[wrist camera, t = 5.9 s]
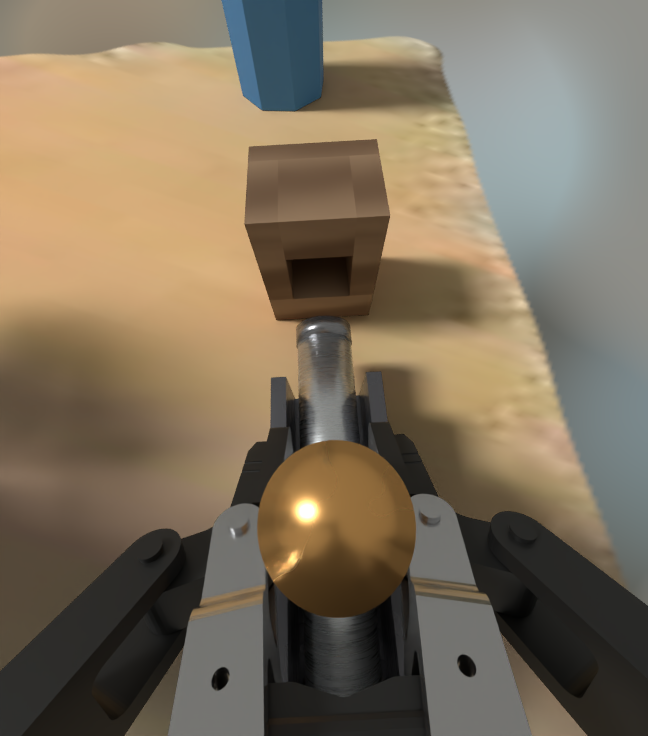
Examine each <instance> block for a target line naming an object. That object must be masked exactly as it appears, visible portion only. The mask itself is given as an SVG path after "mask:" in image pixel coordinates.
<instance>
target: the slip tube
mask: <svg viewBox="0 0 648 736" xmlns="http://www.w3.org/2000/svg"><path fill="white" fill-rule="evenodd" d="M296 337H297V349H298V387H299V432H300V450H298V451H296V452H295V453H293V454H292V455H291V456H289V457H288V458H287V459H286V460H285V461H284V462H283V463H282V464H281V465H280V466H279V467H278V469H277V470H276V471H275V472H274V474H273V475H272V477H271V479H270V480H269V482H268V484H267V486H266V488H265V490H264V493H263V496H262V499H261V502H260V506H259V511H258V520H257V536H258V543H259V549H260V553H261V556H262V560H263V562H264V565H265V567H266V569H267V572H268V573H269V575H270V577H271V579H272V580H273V582H274V583H275V584H276V586H277V587H278V588H279V590H280V591H281V592H282V593H283V594H284V595H285V596H286V597H287V598H288V599H289V600H291V601H292V602H293V603H295V604H296V605H297V606H299V607H301V608H303V613H304V658H305V686H308V687H311V688H315V689H318V690H321V691H324V692H327V693H330V694H334V695H337V696H340V697H348V696H351V695H353V694H355V693H357V692H360V691H362V690H364V689H367V688H369V687H371V686H373V685H376V684H378V683H380V682H383V680H382V669H381V659H380V648H379V637H378V627H377V616H376V607H377V606H378V605H380V604H381V603H382V602H384V601H385V600H386V599H387V598H388V597H389V596H390V595H391V594H392V593H393V592H394V591H395V590H396V588H397V587H398V586H399V585H400V583H401V581H402V580H403V578H404V576H405V575H406V573H407V570H408V568H409V566H410V563H411V560H412V557H413V553H414V548H415V541H416V520H415V513H414V508H413V504H412V501H411V498H410V495H409V492H408V490H407V488H406V486H405V484H404V482H403V481H402V479H401V477H400V476H399V474H398V473H397V472H396V470H395V469H394V468H393V467H392V466H391V465H390V464H389V463H388V462H387V461H386V460H385V459H384V458H383V457H381V456H380V455H379V454H378V453H376V452H374V451H373V450H371V449H369V448H367V447H365V446H363V445H360V435H359V424H358V414H357V403H356V392H355V382H354V371H353V360H352V350H351V345H352V340H351V330H350V324H349V323H348V322H347V321H346V320H344V319H342V318H339V317H335V316H316V317H311V318H308V319H306V320H304V321H302V322H301V323H300V324H299V325H298V326H297V329H296Z"/></svg>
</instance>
